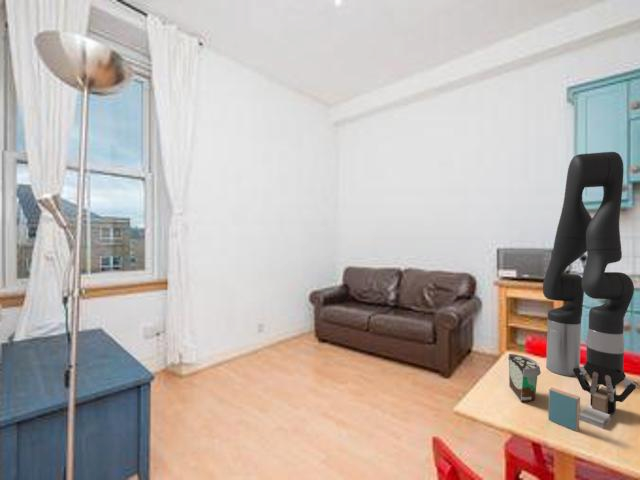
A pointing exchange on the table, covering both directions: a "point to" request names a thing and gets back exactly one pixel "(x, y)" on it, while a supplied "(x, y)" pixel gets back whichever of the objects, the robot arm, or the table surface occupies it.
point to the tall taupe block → (597, 410)
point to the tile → (564, 408)
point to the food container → (523, 377)
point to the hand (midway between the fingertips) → (602, 410)
